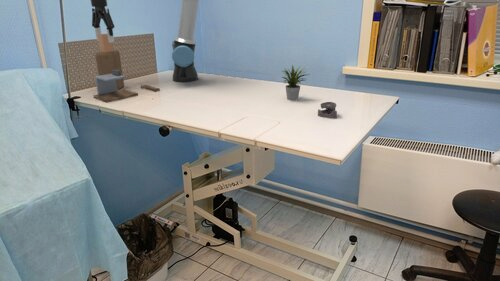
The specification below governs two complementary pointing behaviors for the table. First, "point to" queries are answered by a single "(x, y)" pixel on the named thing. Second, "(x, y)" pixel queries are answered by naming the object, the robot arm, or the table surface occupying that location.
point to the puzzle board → (122, 94)
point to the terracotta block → (105, 43)
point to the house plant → (293, 83)
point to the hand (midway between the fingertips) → (105, 41)
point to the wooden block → (109, 65)
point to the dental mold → (328, 110)
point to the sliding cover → (108, 82)
